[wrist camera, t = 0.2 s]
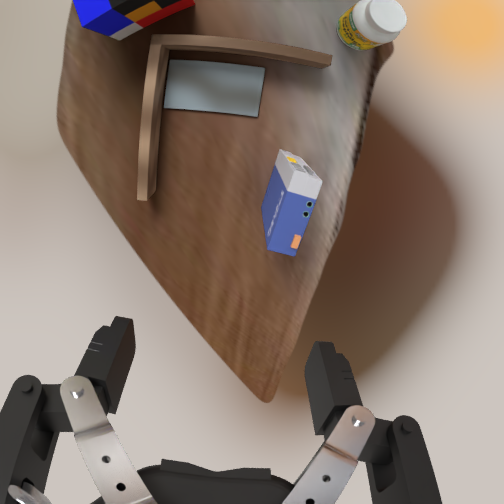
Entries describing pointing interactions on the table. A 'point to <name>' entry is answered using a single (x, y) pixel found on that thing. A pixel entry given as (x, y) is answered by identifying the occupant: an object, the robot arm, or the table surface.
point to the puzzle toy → (125, 14)
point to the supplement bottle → (371, 23)
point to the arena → (204, 86)
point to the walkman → (289, 203)
